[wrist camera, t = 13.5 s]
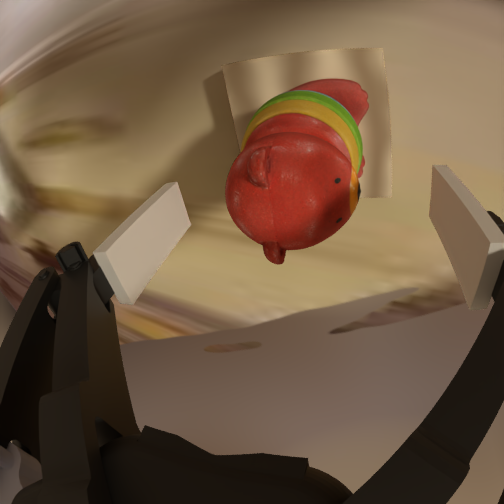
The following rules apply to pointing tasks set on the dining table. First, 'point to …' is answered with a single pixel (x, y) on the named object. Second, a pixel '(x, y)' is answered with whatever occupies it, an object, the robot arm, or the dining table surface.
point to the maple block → (314, 68)
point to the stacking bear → (299, 166)
